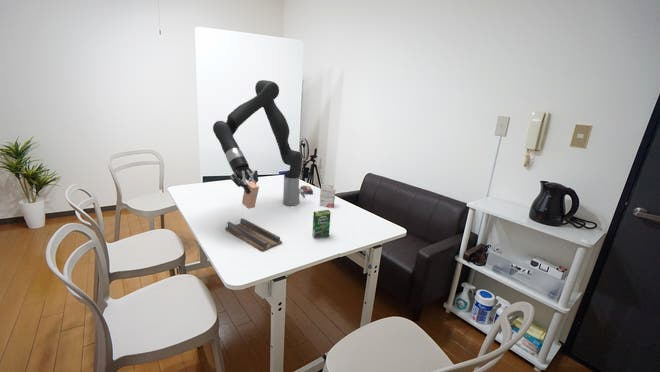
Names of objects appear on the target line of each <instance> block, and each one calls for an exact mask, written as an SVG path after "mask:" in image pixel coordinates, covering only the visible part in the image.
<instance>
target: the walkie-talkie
mask: <svg viewBox="0 0 660 372" xmlns="http://www.w3.org/2000/svg"><path fill="white" fill-rule="evenodd" d="M299 189H300V195H302V196H303V197H304V198H305V197H306V195H313V194H314V190H313V189H312V188H311V187H310V186H309V185H301V186H299Z"/></svg>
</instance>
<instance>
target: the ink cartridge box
mask: <svg viewBox="0 0 660 372" xmlns="http://www.w3.org/2000/svg"><path fill="white" fill-rule="evenodd" d="M335 199H336V187H335V185H334V184H328V183H321V185H320V194H319V207H325V208H328V209H329V208H330V209H332V208H334V206H335V201H336V200H335Z"/></svg>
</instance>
